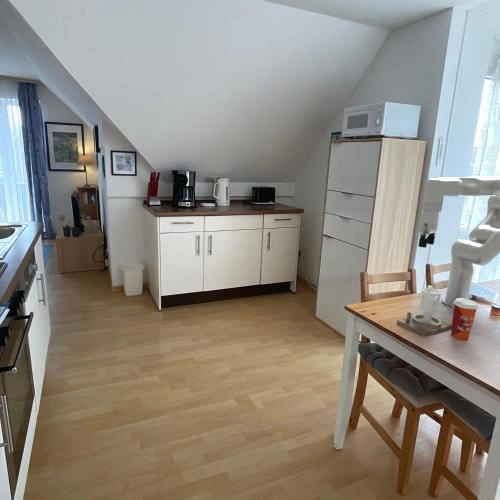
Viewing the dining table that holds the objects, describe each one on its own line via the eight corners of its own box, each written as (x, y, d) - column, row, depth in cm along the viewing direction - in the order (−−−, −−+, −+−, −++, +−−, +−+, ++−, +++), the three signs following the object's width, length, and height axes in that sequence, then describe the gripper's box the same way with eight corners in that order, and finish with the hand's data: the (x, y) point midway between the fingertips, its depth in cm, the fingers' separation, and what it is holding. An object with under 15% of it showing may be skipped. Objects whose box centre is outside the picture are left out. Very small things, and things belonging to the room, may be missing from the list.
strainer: (433, 319, 154) (438, 286, 151) (438, 326, 148) (444, 291, 144) (415, 317, 155) (420, 284, 152) (419, 324, 149) (425, 290, 145)
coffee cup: (459, 343, 137) (466, 306, 134) (442, 333, 145) (449, 298, 141) (476, 340, 140) (484, 304, 136) (459, 331, 147) (466, 296, 144)
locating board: (427, 315, 162) (429, 303, 161) (455, 327, 151) (457, 315, 150) (396, 323, 153) (398, 311, 151) (424, 336, 142) (426, 323, 140)
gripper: (429, 205, 167) (424, 241, 171) (416, 207, 154) (410, 246, 158) (447, 207, 162) (441, 244, 166) (434, 209, 149) (428, 250, 153)
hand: (426, 245), depth 162 cm, fingers open, 9 cm apart
